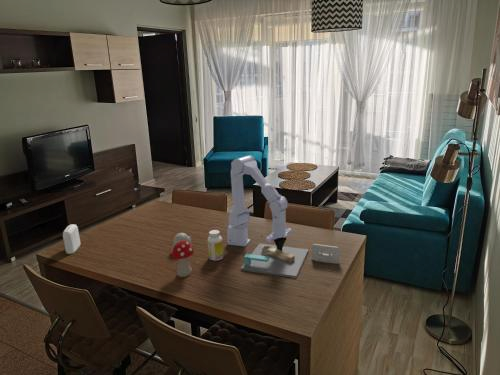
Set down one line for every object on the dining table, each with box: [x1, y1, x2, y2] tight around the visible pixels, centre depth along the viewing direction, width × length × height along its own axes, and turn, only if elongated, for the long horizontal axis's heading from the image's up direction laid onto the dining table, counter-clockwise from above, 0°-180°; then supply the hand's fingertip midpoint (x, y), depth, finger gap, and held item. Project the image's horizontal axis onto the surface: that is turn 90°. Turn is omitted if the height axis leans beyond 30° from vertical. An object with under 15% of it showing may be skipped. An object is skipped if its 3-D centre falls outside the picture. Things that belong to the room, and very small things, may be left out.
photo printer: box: [62, 224, 82, 255], centre depth 190 cm, size 10×4×12 cm, turn 2°
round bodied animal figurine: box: [171, 232, 192, 250], centre depth 187 cm, size 7×12×8 cm, turn 154°
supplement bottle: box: [207, 229, 224, 262], centre depth 176 cm, size 7×7×13 cm
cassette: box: [311, 243, 341, 265], centre depth 170 cm, size 12×2×8 cm, turn 69°
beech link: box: [262, 244, 295, 262], centre depth 175 cm, size 17×4×3 cm, turn 47°
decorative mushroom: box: [170, 241, 195, 278], centre depth 162 cm, size 10×9×15 cm
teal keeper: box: [243, 253, 270, 265], centre depth 167 cm, size 10×3×5 cm, turn 70°
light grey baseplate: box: [240, 243, 309, 279], centre depth 173 cm, size 24×25×1 cm
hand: (279, 251), depth 176 cm, fingers closed, pressing on beech link
